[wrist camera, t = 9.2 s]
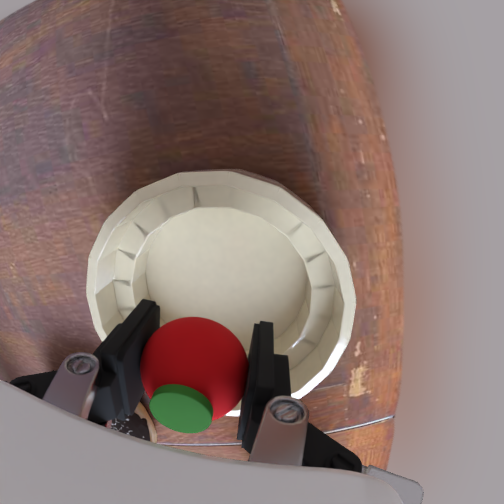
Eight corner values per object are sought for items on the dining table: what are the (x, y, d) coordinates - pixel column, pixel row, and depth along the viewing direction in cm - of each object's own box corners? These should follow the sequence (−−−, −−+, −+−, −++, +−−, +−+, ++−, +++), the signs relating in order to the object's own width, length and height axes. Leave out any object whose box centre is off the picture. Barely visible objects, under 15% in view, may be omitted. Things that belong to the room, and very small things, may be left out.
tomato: (141, 327, 12) (98, 390, 8) (210, 279, 11) (180, 343, 7) (200, 387, 13) (180, 458, 9) (271, 351, 12) (271, 429, 8)
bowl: (92, 254, 18) (48, 282, 13) (248, 122, 15) (239, 105, 10) (212, 389, 21) (200, 438, 16) (369, 301, 18) (396, 343, 13)
